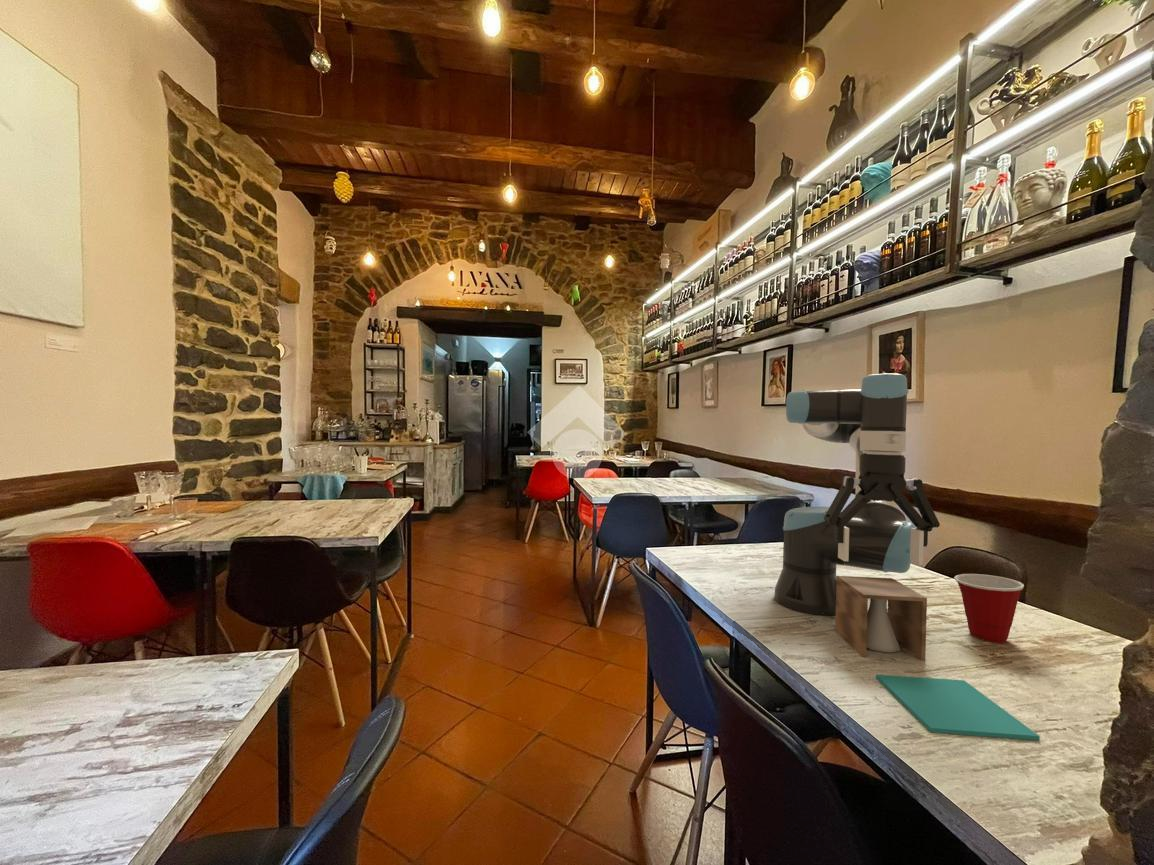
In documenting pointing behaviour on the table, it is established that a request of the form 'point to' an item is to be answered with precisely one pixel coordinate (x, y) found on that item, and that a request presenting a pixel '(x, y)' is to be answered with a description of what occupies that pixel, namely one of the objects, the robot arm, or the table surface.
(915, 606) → the brown wooden box frame
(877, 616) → the flask
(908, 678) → the mat
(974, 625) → the plastic cup
